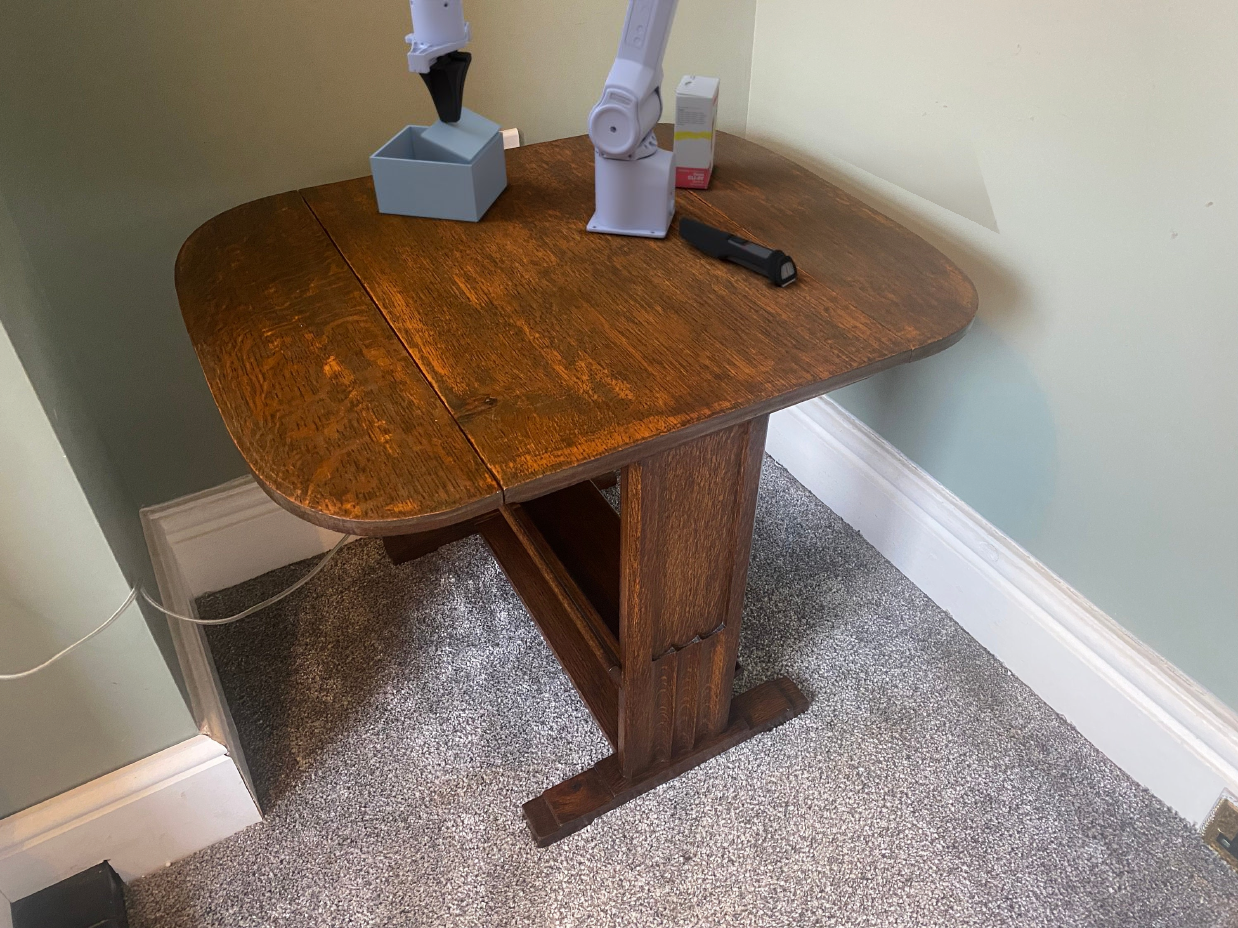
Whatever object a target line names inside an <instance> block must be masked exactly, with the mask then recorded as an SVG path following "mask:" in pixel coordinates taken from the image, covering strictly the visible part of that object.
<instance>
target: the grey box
mask: <svg viewBox="0 0 1238 928" xmlns="http://www.w3.org/2000/svg"><path fill="white" fill-rule="evenodd" d="M429 127H430V126H429V125H428V126H427V125H415V124H414V125H413V124H407V125H406V126H405V127H404V128H403V129H402V130H400V131H399V132H398V133H396V134H395V135H394V136H392V138H391V139H390V140H388V141H387V142H386V143H385V144H384V145H383V146H381V147H380V148H379V149H377V151H375V152H374V153H373V154H371V155H370V156H369V158H368V159H369V164H370V170H371V174H372V179H373V183H374V191H375V195H376V201H377V206H378V211H379V213H380V214H389V215H401V216H411V217H421V218H432V219H444V220H453V221H464V222H473V223H478V222H479V221H480V220H481V218H482V217H483V216H484V215H485V213H486V212H487V211H488V210H489V208H490V207H491V206H492V204H494V202H495V201H496V200H497V198H498V197H499V196H500V195H501V193H502V192H503V191H504V189H505V188H507V186H508V180H507V167H506V166H507V165H506V155H505V145H504V144H505V143H504V132H503V131H499V132H498V133H497V134H496V135H495V136H494V137H493V138H492V139H491V140H490V141H489V142H488V143H487V144H486V145H485V146H484V147H483V148H482V150H481V151H480V152H479V153H478V154H477V155H476V156H475V157H474V158H473V159H472V160H471V161H470V162H469V161H468V160H466V159H464V158H462V157H460V156H458V155H456V154H454V153H452V152H450V151H448V150H446V149H444V148H442V147H440V146H438V145H436V144H434V143H432V142H430V141H428V140H426V139H424V138H422V137H421V134H422V133H423V132H425V131H426V130H427V129H428V128H429Z"/></svg>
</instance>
